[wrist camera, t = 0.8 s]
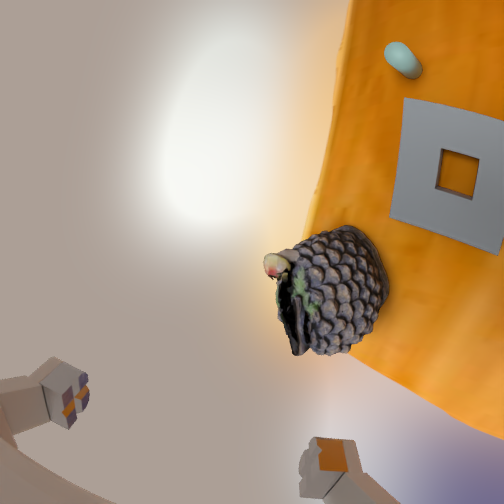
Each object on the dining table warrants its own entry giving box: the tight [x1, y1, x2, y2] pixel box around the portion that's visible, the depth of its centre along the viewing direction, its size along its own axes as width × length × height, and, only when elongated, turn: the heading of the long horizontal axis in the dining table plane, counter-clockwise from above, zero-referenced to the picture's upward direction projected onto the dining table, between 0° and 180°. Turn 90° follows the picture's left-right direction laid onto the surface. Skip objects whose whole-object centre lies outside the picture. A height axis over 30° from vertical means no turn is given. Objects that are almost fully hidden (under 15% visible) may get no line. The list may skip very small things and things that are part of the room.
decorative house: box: [263, 225, 389, 356], centre depth 50 cm, size 21×15×25 cm
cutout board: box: [389, 98, 504, 256], centre depth 38 cm, size 20×20×4 cm
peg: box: [384, 42, 422, 79], centre depth 35 cm, size 4×4×9 cm
